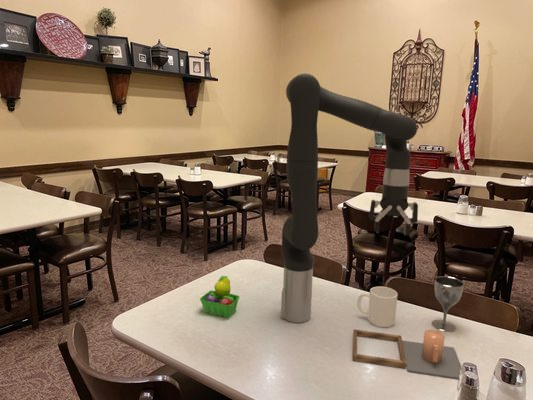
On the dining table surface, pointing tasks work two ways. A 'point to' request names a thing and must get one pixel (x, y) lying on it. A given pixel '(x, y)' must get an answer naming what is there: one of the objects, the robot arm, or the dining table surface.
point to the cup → (380, 306)
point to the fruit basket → (220, 299)
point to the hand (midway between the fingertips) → (391, 233)
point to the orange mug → (433, 346)
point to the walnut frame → (379, 360)
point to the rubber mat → (418, 365)
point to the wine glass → (447, 299)
